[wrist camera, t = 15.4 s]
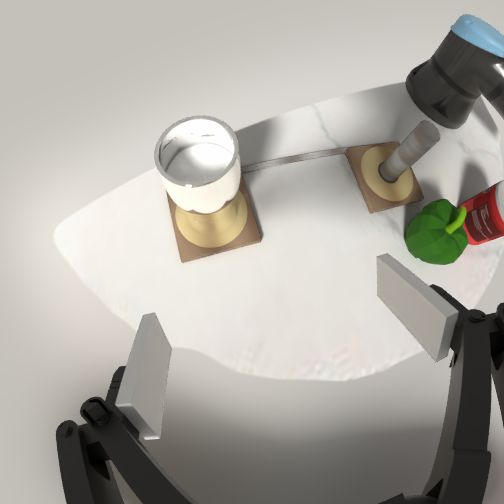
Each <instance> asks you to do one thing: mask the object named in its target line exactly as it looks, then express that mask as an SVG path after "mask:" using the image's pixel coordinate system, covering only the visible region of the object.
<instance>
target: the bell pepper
mask: <svg viewBox="0 0 504 504" xmlns="http://www.w3.org/2000/svg"><path fill="white" fill-rule="evenodd" d="M465 217H466V208H465V207H464V206H461V207H460V210H459V209H458V208H456V207H455V206H453V205H452V204H451V203H450V202H449V201H448V200H447V199H440V200H437V201H434V202H431V203H430V204H428V205H427V206H425V207H424V208H423V209H422V211H421V212H419V213H418V214H417V215H416V216H415V217H414V218H413V220H412V221H411V223H410V224H409V226H408V227H407V229H406V238H405V242H406V245H407V247H408V250H409V252H410V253H411V254H412V255H413V256H414V257H415V258H420V259H421V260H422V261H424V262H427V263H431V264H440V265H446V264H450V263H454V262H455V261H456V260H457V258H458V257H459V256H460V255H461V254H462V252H463V251H464V249H465V248H466V246H467V244H468V243H469V241H468V236H467V233H466V231H465V230H464V228H463V227H464V220H465Z"/></svg>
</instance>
